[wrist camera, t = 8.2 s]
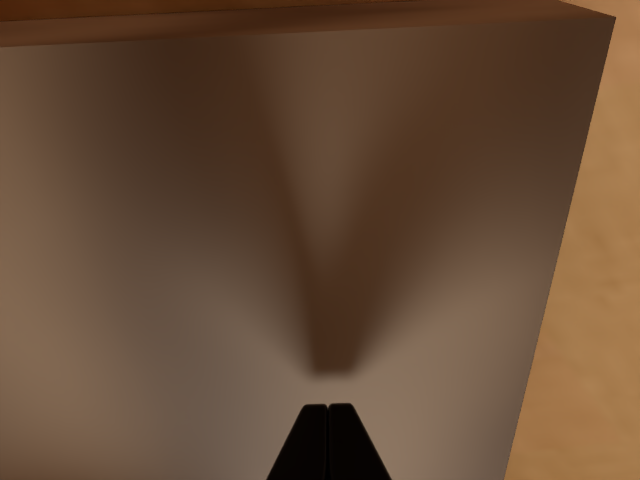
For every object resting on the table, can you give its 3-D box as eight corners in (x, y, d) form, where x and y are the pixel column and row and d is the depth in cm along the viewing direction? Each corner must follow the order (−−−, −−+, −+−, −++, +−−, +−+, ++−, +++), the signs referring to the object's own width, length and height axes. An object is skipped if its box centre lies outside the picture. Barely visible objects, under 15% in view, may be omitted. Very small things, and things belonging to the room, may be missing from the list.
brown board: (537, -6, 8) (615, 17, 6) (461, 458, 14) (486, 550, 12) (-132, 27, 8) (-286, 61, 6) (81, 470, 15) (41, 562, 12)
